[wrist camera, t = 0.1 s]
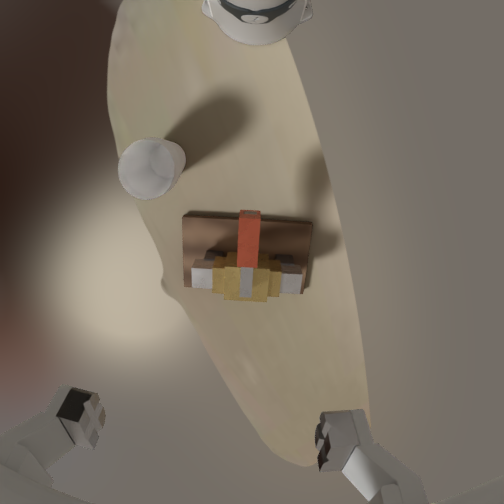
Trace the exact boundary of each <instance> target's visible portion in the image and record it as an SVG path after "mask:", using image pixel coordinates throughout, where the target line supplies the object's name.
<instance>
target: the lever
mask: <svg viewBox="0 0 504 504" xmlns="http://www.w3.org/2000/svg"><path fill="white" fill-rule="evenodd" d="M260 221H261V215H260V211H254V210H240V215H239V229H238V251H237V267H241V275H240V296H239V297H249V298H251V295H252V280H253V268H257V264H258V250H259V235H260Z"/></svg>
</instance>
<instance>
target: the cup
mask: <svg viewBox="0 0 504 504" xmlns="http://www.w3.org/2000/svg"><path fill="white" fill-rule="evenodd" d="M185 164H186V156H185V153H184V151H183V149H182V148H181V147H180V146H179V145H178V144H176V143H174V142H171V141H168V140H165V139H161V138H156V137H149V138H144V139H142V140H139V141H137V142H134V143H132V144H131V145H129V146H128V147H127V148H126V149H125V150H124V152H123V153H122V155H121V157H120V160H119V165H118V174H119V179H120V182H121V184H122V185H123V187H124V189H125V190H126V191H127V192H128V193H129V194H131V195H132V196H134V197H136V198H139V199H143V200H150V199H154V198H157V197H159V196H161V195H163V194H165V193H167V192H168V191H170V190H171V189H172V188H173V187H174V185H175V184H176V183H177V181H178V179H179V177H180V175H181V173H182V171H183V169H184V167H185Z"/></svg>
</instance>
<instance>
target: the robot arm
mask: <svg viewBox="0 0 504 504" xmlns="http://www.w3.org/2000/svg"><path fill="white" fill-rule="evenodd" d="M305 8H307V9H305ZM202 12H203V14H205V15H206V16H207V17H209V18H211V19H213V20H214V21H215V22H216V23H217V24H218V25H219V27H220V28H221V30H222V31H223V32H224V33H225V34H226V35H228V36H229V37H230V38H232V39H234V40H236V41H238V42H241V43H244V44H249V45H266V44H271V43H274V42H277V41H279V40H281V39H283V38H284V37H286V36H287V35H288V34H290V33H291V32H292V31H293V29H294V28H295V27H296V26H297V25H299V24H301V23H303V22H306V21H308V20H310V19H311V18H312V15H313V11H312V6H311V2H310V0H204V2H203V5H202ZM99 400H100V398H99V395H98V393H94V392H90V391H87V390H83V389H78V388H75V387H72V386H68V385H61V386H60V387H59V389H58V390H57V392H56V394H55V395H54V397H53V399H52V401H51V402H50V404H49V406H48V407H47V409H46V411H45V413H43V412H41V413H39V414H37V415H35V416H33V417H32V418H30V419H28V420H26V421H24V422H23V423H21V424H19V425H17V426H15V427H13V428H12V429H10V430H8V431H6V432H4V433H2V434H1V435H0V504H94V503H90V502H88V501H84V500H81V499H79V498H76V497H73V496H70V495H68V494H65V493H63V492H60V491H57V490H55V489H52V488H51V487H52V484H53V479H52V477H51V476H50V475H49V474H48V473H47V471H46V469H47V468H48V467H50V466H51V465H52V464H54V463H55V462H56V461H57V460H59V459H60V458H61V457H62V456H64V455H65V454H66V453H67V452H69V451H70V450H71V449H72V448H74V447H75V445H77V446H81V447H84V448H88V449H92V450H94V448H95V446H96V443H97V441H98V438H99V436H98V433H97V432H98V431H99V430H101V429H102V428H103V426H104V423H105V410H104V407H103V406H102V405H101V404H100V403H99ZM315 445H316V448H317V449H318V450H319V451H320V452H319V454H318V457H317V459H318V466H319V472H326V471H327V472H328V471H341V470H342V472H343V474H344V475H345V476H346V477H347V478H348V479H349V480H350V481H351V483H352V484H353V485H354V486H355V487H356V488H357V489H358V490H359V491H360V492H361V493H362V494H363V496H365V498H366V499H367V500H368V501H369V502H368V503H367V504H429V502H428V499H427V496H426V493H425V490H424V487H423V484H422V481H421V478H420V476H419V475H417V474H416V473H415V472H413V471H412V470H411V469H410V468H408V467H407V466H406V465H404V464H403V463H402V462H401V461H399V460H398V459H397V458H396V457H394V456H393V455H392V454H391V453H389V452H388V451H387V450H386V449H385V448H383V447H382V446H381V445H380V444H379V443H374V441H373V437H372V434H371V431H370V428H369V424H368V421H367V418H366V415H365V412H364V410H363V409H357V410H341V411H327V412H322V413H321V415H320V423H319V424H318V425H317V427H316V430H315ZM431 504H504V476H500V477H497V478H495V479H493V480H490V481H488V482H486V483H484V484H482V485H479V486H477V487H475V488H472V489H470V490H467V491H465V492H462V493H460V494H457V495H454V496H452V497H449V498H446V499H443V500H440V501H437V502H435V503H431Z"/></svg>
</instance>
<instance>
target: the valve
mask: <svg viewBox="0 0 504 504" xmlns="http://www.w3.org/2000/svg"><path fill="white" fill-rule="evenodd" d="M191 271H192V287H194V288H208V289H212V293H220V294H224V300H238V301H255V302H267V296H271V297H279V293H294V294H300V290H301V283H302V276H303V274H302V270H301V267H300V265H294V260H293V256H292V255H282V254H276V259H275V260H270V259H269V254H260V253H258V264H257V268H253V280H252V295H251V298H249V297H239V296H240V275H241V267H237V252H228V253H227V257H223V251H215V250H207V251H206V254H205V257H204V259H195V261H194V263H193V265H192V268H191Z"/></svg>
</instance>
